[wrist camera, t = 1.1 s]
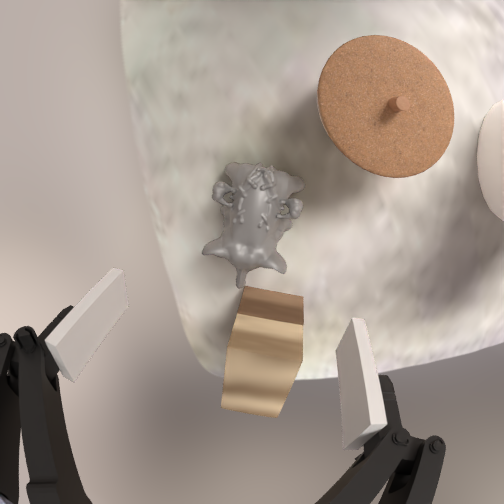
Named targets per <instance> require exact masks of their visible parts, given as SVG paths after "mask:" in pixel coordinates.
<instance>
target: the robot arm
mask: <svg viewBox="0 0 504 504" xmlns="http://www.w3.org/2000/svg"><path fill="white" fill-rule="evenodd" d="M128 307H129V304H128V298H127V291H126V283H125V276H124V270H122V269H118V268H114V267H113V268H112V269H111V270H110V271H109V272H108V273H107V274H106V275H105V276H104V277H103V278H102V279H101V280H100V281H99V282H98V283H97V284H96V285H95V286H94V287H93V288H92V289H91V290H90V291H89V292H88V293H87V294H86V295H85V296H84V297H83V298H82V299H81V300H80V301H79V303H78V304H77V305H76V306H75V307H73V306H71V305H70V306H69V307H67V308H65V309H63V310H62V311H61V312H60V313H59V314H58V315H57V317H56V318H55V319H54V320H53V322H51V323H50V324H49V325H48V326H47V328H46V329H45V330H44V331H43V332H42V333H41V334H40V335H39V336H38V337H37V335H36V333H35V331H34V329H33V328H32V327H29V326H24V327H21V328H19V329H18V330H17V331H16V332H15V334H14V337H13V338H14V340H15V341H13V340H12V339H11V336H10V335H8V334H7V333H1V334H0V504H18V500H19V445H20V432H21V430H22V439H23V445H24V452H25V457H26V463H27V467H28V472H29V477H30V482H29V483H28V484H27V486H26V489H27V495H28V498H29V501H30V504H92V502H91V501H90V499H89V498H88V497H87V496H86V494H85V492H84V489H83V486H82V483H81V480H80V477H79V474H78V471H77V468H76V465H75V461H74V458H73V454H72V450H71V446H70V442H69V438H68V434H67V430H66V424H65V419H64V414H63V408H62V401H61V396H60V387H59V379H58V375H57V373H58V372H59V370H60V371H61V373H62V375H63V377H65V378H67V379H68V380H70V381H72V382H75V381H76V379H77V378H78V376H79V375H80V373H81V372H82V370H83V369H84V367H85V366H86V364H87V363H88V362H89V360H90V359H91V357H92V356H93V354H94V353H95V352H96V350H97V349H98V347H99V346H100V345H101V343H102V342H103V340H104V339H105V338H106V336H107V335H108V333H109V332H110V331H111V329H112V328H113V327H114V325H115V324H116V323H117V321H118V320H119V319H120V317H121V316H122V315H123V313H124V312H125V311H126V309H127V308H128ZM336 358H337V367H338V378H339V388H340V402H341V416H342V436H343V450H358V449H359V448H360V447H362V446H363V445H364V452H363V453H362V454H360V455H359V456H358V457H356V458H355V460H356V461H355V462H354V463H353V464H352V466H351V467H350V468H349V469H348V470H347V471H346V473H345V474H344V475H343V476H342V477H341V478H340V479H339V480H338V481H337V482H336V483H335V484H334V486H332V487H331V488H330V489H329V491H328V492H327V493H326V494H325V495H323V497H322V498H321V499H319V500H318V501H317V502H316V503H315V504H370V503H371V502H372V501H373V499H374V498H375V497H376V495H377V494H378V493H379V491H380V490H381V489H382V487H383V486H384V485H385V483H386V481H388V483H387V485H386V488H385V490H384V492H383V495H382V497H381V499H380V501H379V503H378V504H432V501H433V498H434V495H435V491H436V488H437V484H438V481H439V477H440V473H441V469H442V465H443V459H444V455H445V450H446V445H445V443H444V441H443V440H442V438H440V437H439V436H431V437H429V438H428V439H426V440H423V439H419V438H415V437H412V436H410V434H409V432H408V431H407V430H406V429H404V428H402V425H401V419H400V415H399V410H398V405H397V401H396V396H395V394H394V393H395V391H394V387H393V383H392V382H391V380H390V379H389V377H388V376H387V375H378V372H377V368H376V363H375V359H374V355H373V351H372V346H371V342H370V338H369V335H368V331H367V327H366V323H365V319H360V318H354V317H352V318H351V321H350V323H349V325H348V327H347V329H346V331H345V333H344V335H343V337H342V339H341V341H340V343H339V345H338V347H337V349H336ZM7 372H8V374H7ZM388 479H389V480H388Z"/></svg>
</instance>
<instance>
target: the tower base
mask: <svg viewBox="0 0 504 504" xmlns="http://www.w3.org/2000/svg"><path fill="white" fill-rule="evenodd" d="M238 314H243V315H248V316H253V317H259V318H264V319H269V320H275V321H281V322H287V323H293V324H299V325H303V324H304V312H303V297H302V296H296V295H291V294H285V293H280V292H274V291H269V290H264V289H259V288H253V287H248V286H245V288H244V292H243V295H242V298H241V302H240V305H239V309H238Z"/></svg>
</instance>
